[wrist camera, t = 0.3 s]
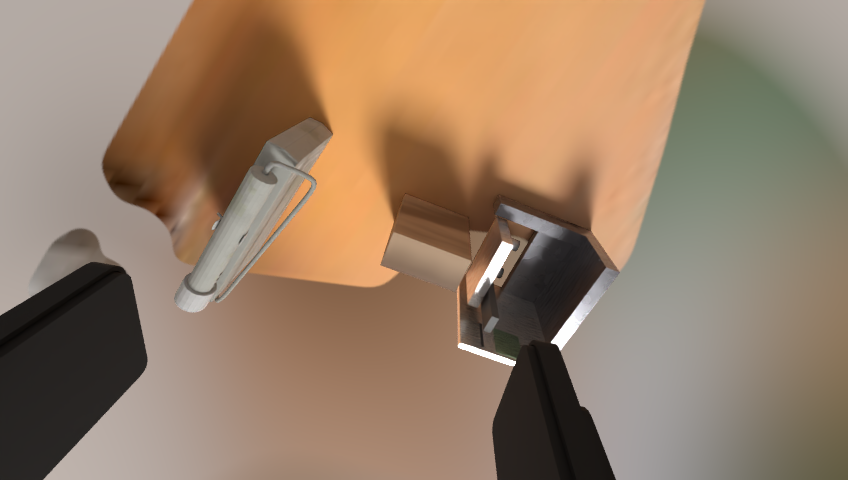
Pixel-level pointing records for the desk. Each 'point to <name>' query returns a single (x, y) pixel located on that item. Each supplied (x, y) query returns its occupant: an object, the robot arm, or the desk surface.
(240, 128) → the desk surface
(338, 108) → the desk surface
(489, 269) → the plate
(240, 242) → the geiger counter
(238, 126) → the desk surface
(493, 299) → the dark flat plank
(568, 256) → the stand
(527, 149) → the desk surface
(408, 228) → the push block
